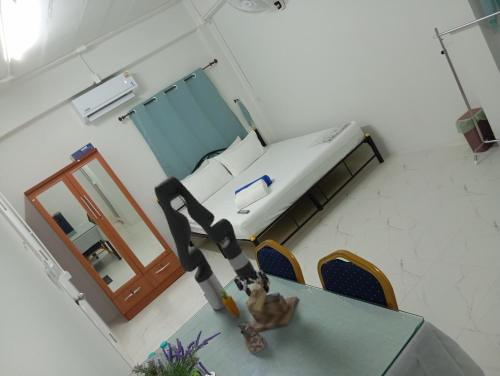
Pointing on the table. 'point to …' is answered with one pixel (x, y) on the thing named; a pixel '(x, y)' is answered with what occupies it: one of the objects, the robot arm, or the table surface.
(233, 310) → the carrot
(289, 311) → the ridge stand
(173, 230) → the robot arm
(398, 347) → the table surface
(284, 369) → the table surface
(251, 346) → the figurine
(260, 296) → the oak batten
